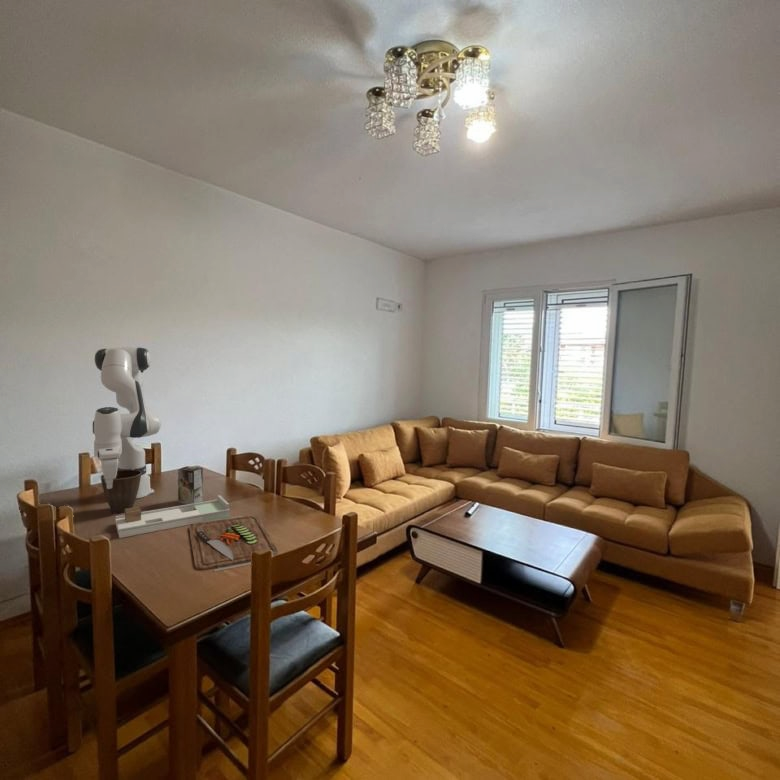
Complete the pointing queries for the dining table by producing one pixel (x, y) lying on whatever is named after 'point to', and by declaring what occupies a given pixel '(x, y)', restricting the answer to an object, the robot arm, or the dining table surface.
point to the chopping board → (228, 542)
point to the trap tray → (173, 517)
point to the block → (132, 514)
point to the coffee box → (190, 485)
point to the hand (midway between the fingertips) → (108, 485)
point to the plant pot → (122, 490)
